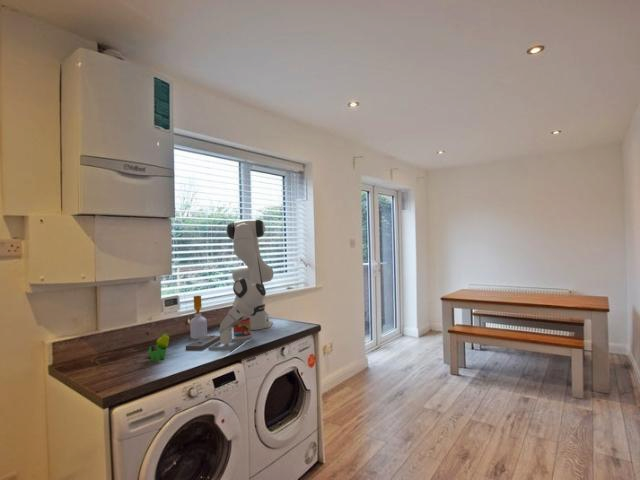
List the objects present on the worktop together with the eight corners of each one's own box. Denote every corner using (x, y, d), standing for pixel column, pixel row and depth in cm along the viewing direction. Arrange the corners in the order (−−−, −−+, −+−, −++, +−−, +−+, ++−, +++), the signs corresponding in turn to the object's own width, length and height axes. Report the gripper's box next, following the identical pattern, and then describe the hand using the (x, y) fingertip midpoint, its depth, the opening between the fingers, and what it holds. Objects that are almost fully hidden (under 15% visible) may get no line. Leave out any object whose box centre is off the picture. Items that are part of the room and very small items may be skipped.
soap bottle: (190, 341, 204) (188, 297, 204) (191, 337, 213) (189, 295, 213) (207, 339, 207) (205, 295, 207) (207, 335, 216) (205, 293, 216)
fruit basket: (150, 356, 178) (149, 333, 178) (170, 353, 181) (169, 330, 182) (148, 363, 168) (147, 338, 168) (169, 360, 171) (168, 336, 171)
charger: (224, 345, 190) (223, 325, 190) (232, 345, 189) (231, 325, 189) (220, 347, 186) (219, 327, 186) (228, 347, 185) (227, 327, 185)
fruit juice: (254, 337, 207) (251, 287, 207) (246, 341, 198) (243, 289, 198) (239, 336, 210) (237, 287, 210) (230, 340, 201) (228, 289, 201)
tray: (222, 343, 196) (222, 338, 196) (243, 343, 194) (243, 338, 194) (208, 352, 181) (208, 347, 181) (230, 352, 178) (230, 347, 178)
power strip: (205, 341, 203) (205, 334, 203) (221, 341, 201) (220, 334, 201) (185, 352, 183) (185, 344, 183) (202, 352, 181) (202, 344, 181)
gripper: (245, 303, 196) (229, 321, 198) (228, 310, 176) (210, 330, 178) (253, 311, 195) (237, 329, 197) (237, 319, 175) (219, 340, 177)
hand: (224, 330), depth 187 cm, fingers open, 8 cm apart
